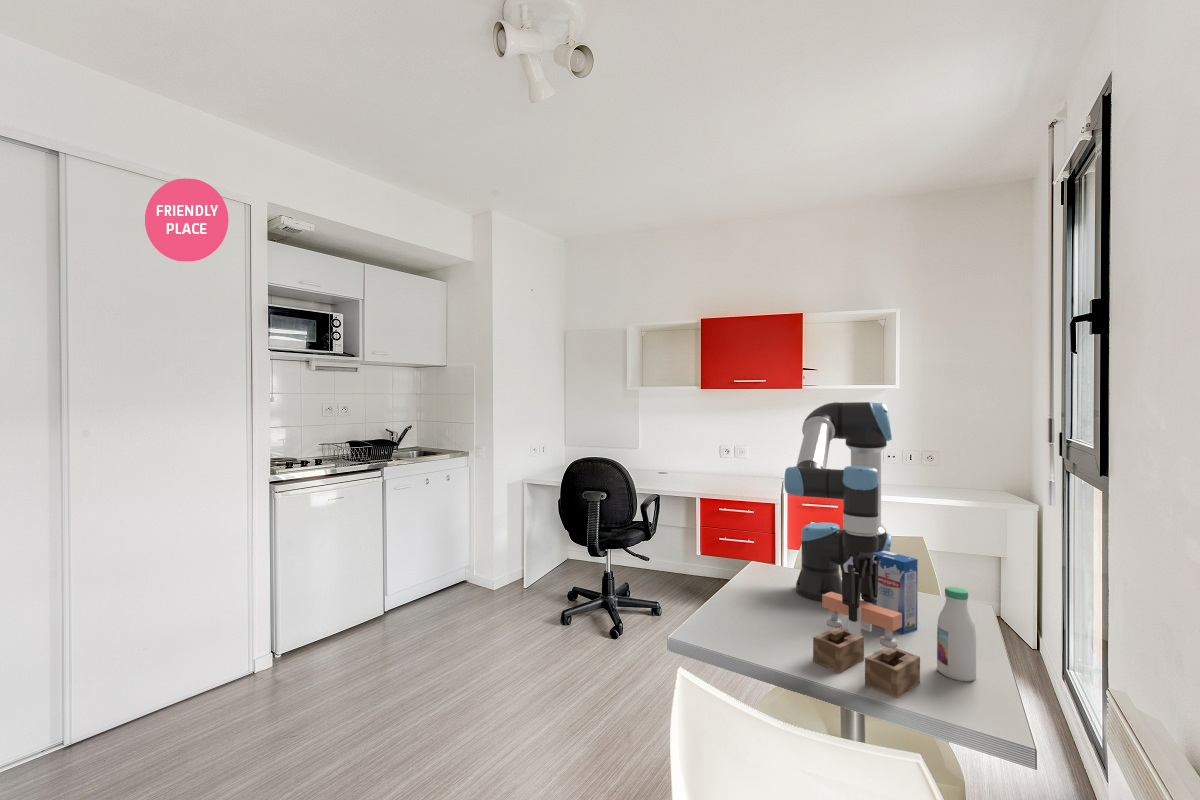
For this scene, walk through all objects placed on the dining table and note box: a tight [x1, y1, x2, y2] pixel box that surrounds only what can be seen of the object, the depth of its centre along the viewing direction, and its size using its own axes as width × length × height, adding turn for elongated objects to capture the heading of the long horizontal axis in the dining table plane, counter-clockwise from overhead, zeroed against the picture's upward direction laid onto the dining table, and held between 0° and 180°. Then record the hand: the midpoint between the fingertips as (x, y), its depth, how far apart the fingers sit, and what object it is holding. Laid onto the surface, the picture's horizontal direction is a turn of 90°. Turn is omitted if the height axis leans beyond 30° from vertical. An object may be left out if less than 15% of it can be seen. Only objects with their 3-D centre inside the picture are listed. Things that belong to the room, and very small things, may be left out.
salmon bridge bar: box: [821, 592, 902, 648], centre depth 125 cm, size 17×4×7 cm, turn 35°
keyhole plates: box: [812, 627, 921, 699], centre depth 126 cm, size 11×20×6 cm, turn 35°
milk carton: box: [872, 551, 919, 635], centre depth 153 cm, size 10×6×20 cm, turn 27°
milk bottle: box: [936, 586, 977, 682], centre depth 126 cm, size 8×8×20 cm
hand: (860, 631), depth 125 cm, fingers closed on salmon bridge bar, 4 cm apart
